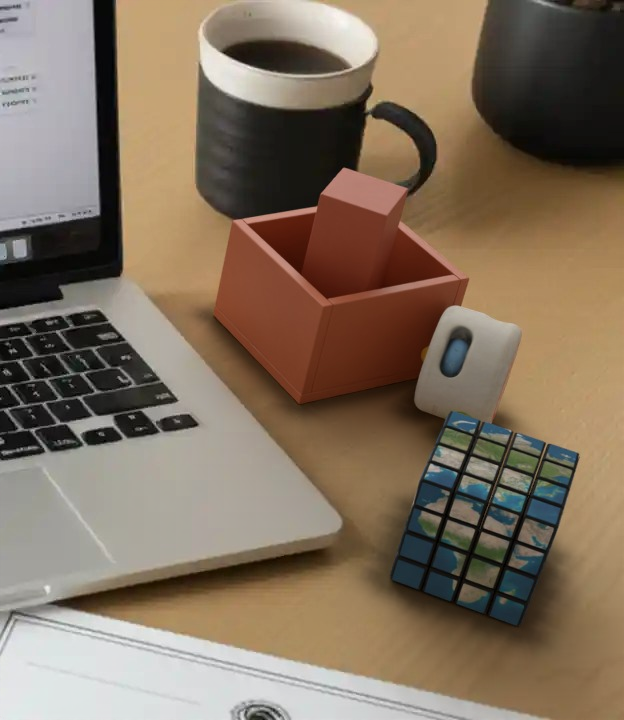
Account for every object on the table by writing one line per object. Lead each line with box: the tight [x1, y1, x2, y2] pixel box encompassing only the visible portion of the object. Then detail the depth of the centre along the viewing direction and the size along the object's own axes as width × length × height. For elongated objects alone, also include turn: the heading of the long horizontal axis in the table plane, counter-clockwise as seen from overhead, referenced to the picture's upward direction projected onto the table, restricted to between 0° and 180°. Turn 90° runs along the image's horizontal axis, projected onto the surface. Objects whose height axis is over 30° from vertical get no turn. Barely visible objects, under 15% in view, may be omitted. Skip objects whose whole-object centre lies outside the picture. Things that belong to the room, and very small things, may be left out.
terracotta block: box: [301, 167, 409, 299], centre depth 88 cm, size 4×4×9 cm
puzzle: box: [389, 411, 581, 627], centre depth 75 cm, size 6×6×6 cm
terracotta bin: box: [212, 205, 470, 405], centre depth 89 cm, size 9×9×6 cm
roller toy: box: [413, 305, 523, 431], centre depth 85 cm, size 4×6×6 cm
